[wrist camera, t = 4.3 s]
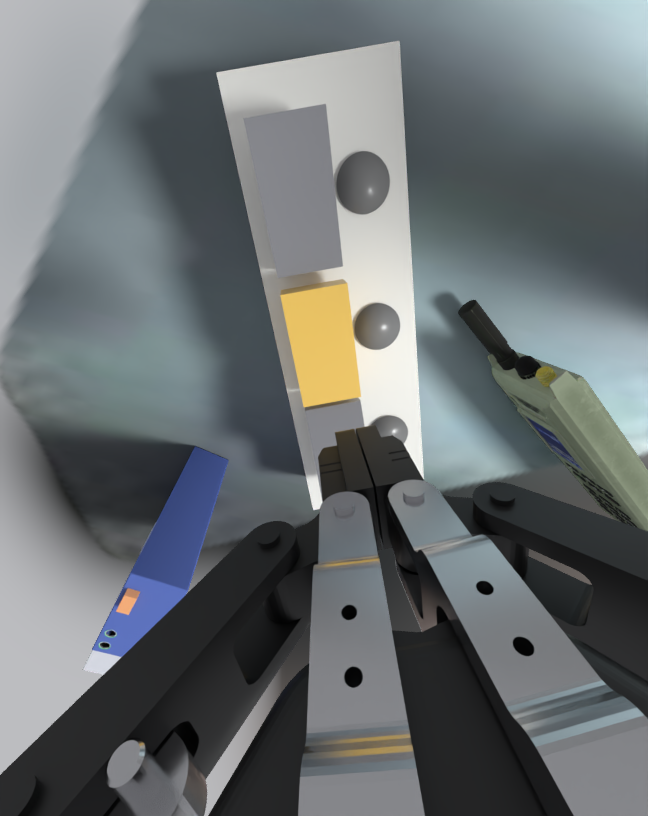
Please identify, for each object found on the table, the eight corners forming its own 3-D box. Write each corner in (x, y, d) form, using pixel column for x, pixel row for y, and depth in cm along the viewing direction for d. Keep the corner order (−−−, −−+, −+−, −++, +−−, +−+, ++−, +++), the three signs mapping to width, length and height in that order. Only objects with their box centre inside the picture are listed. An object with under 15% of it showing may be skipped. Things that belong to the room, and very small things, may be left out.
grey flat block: (321, 108, 15) (325, 103, 13) (338, 258, 18) (343, 266, 17) (245, 121, 15) (243, 118, 13) (277, 269, 18) (277, 278, 17)
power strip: (378, 82, 19) (400, 38, 15) (407, 459, 29) (425, 490, 25) (231, 108, 19) (215, 70, 15) (310, 477, 28) (313, 511, 25)
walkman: (194, 445, 26) (125, 579, 16) (229, 459, 27) (186, 598, 16) (157, 519, 29) (74, 680, 18) (190, 530, 30) (129, 692, 19)
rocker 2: (356, 395, 21) (360, 400, 20) (370, 485, 23) (375, 496, 21) (304, 405, 21) (304, 410, 20) (322, 494, 23) (323, 506, 21)
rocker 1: (342, 278, 18) (347, 283, 16) (356, 385, 21) (361, 396, 19) (280, 289, 18) (280, 295, 16) (302, 395, 21) (303, 407, 19)
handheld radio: (595, 511, 33) (437, 322, 24) (626, 488, 32) (474, 286, 24) (668, 568, 27) (489, 341, 18) (708, 541, 26) (542, 294, 17)
